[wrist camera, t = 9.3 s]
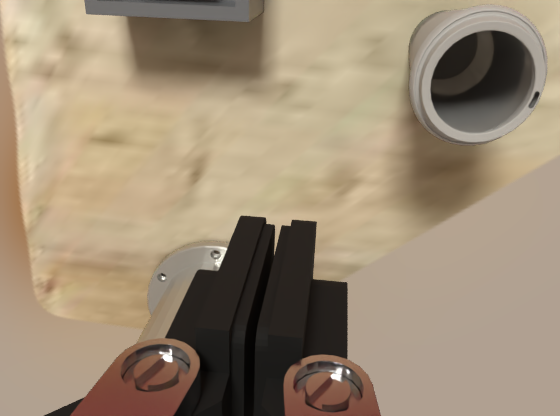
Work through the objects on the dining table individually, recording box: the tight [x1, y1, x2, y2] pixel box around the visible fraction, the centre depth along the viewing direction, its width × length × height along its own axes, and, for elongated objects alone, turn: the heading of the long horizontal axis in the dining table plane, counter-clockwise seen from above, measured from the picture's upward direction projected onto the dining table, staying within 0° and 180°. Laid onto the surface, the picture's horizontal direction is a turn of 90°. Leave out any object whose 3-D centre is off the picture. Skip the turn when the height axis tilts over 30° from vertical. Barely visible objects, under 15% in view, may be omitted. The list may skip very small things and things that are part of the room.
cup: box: [409, 5, 547, 145], centre depth 32 cm, size 7×7×12 cm
